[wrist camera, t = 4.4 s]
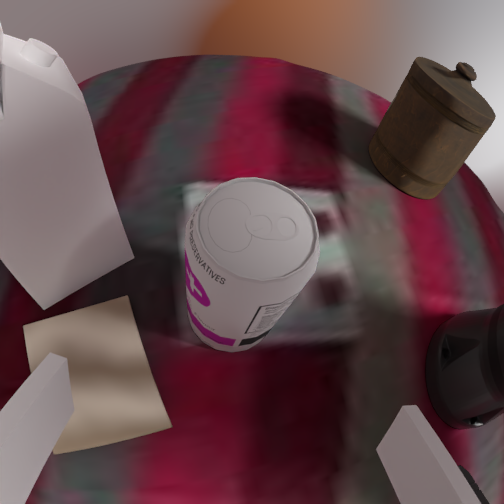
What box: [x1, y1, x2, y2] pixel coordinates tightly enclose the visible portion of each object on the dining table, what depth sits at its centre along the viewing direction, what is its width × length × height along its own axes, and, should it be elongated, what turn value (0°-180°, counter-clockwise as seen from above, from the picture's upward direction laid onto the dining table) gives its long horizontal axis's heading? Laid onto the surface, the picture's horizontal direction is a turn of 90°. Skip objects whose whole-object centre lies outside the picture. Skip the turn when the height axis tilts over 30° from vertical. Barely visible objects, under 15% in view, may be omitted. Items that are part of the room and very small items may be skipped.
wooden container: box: [369, 57, 495, 199], centre depth 39 cm, size 15×15×22 cm
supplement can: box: [185, 177, 320, 352], centre depth 24 cm, size 8×8×15 cm
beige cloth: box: [23, 295, 172, 454], centre depth 24 cm, size 13×12×1 cm
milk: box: [0, 22, 135, 310], centre depth 20 cm, size 12×12×26 cm
